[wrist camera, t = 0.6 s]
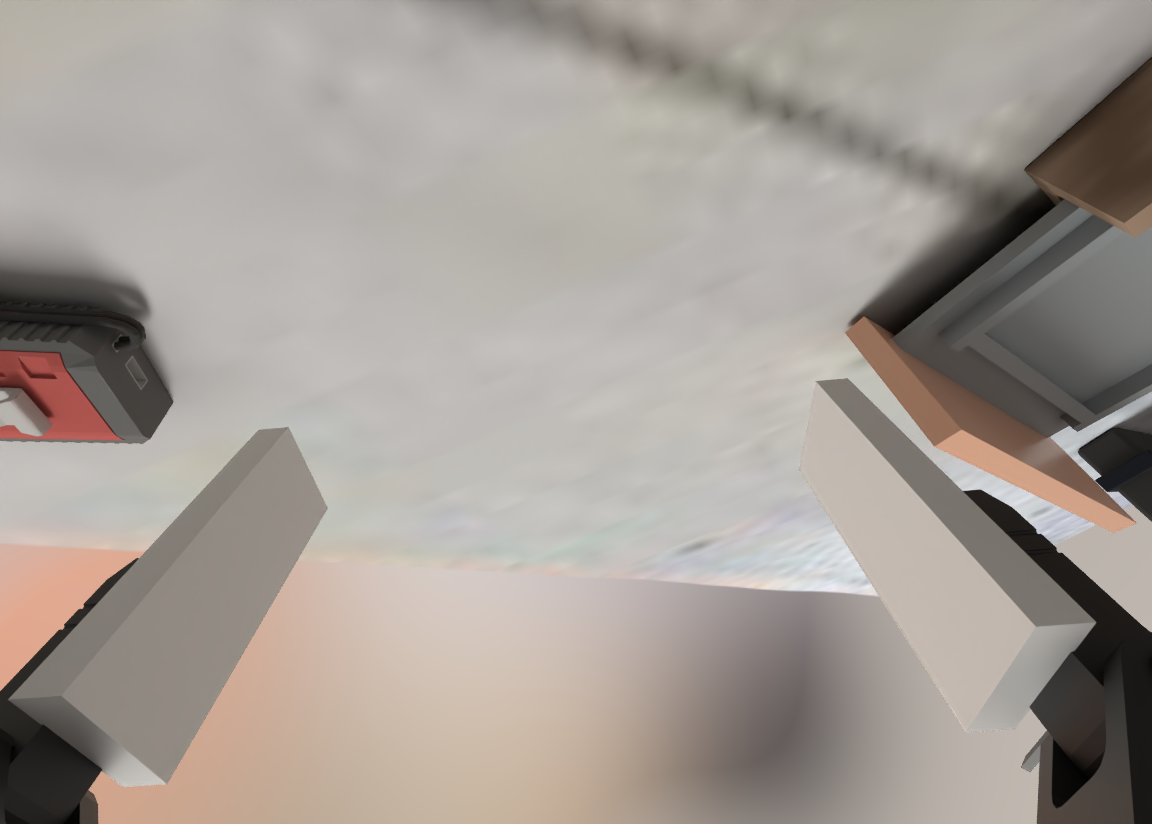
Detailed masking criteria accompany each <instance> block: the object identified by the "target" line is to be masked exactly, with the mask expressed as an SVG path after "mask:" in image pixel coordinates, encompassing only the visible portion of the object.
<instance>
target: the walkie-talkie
mask: <svg viewBox="0 0 1152 824" xmlns="http://www.w3.org/2000/svg"><path fill="white" fill-rule="evenodd" d="M145 338H146V334H145V329H144V327H143V326H142V324H141V323H139V322H138V321H136V320H134V319H133V318H131V317H129V316H125V315H121V314H117V313H114V312H109V311H107V310H105V309H103V308H101V307H99V308H98V309H94V308H90V307H89V306H84V307H83V308H78V307H75V306H74V305H69V306H68V307H62V306H60V305H58V304H54V305H53V306H46V305H45V304H42V303H39V304H38V305H31V304H30V303H26V302H24V303H23V304H15V303H14V302H10V301H8V302H7V303H0V441H12V442H13V441H22V442H27V441H34V442H40V441H46V442H76V443H80V442H88V443H93V442H98V443H128V444H132V443H140V444H143V443H144V442H146V441H148V440H149V439H151V437H152V435H153V434H154V432H155V431H156V429H157V427H158V426H159V424H160V423H161V421H162V420H163V418H164V416H165V415H166V413H167V412H168V410H169V408H170V407H171V405H172V404H173V401H172V399H171V397H170V395H169V394H168V392H167V390H166V389H165V387H164V385H163V384H162V382H161V380H160V378H159V377H158V375H157V373H156V372H155V370H154V368H153V366H152V365H151V363H150V361H149V360H148V358H147V356H146V355H145V353H144V351H143V349H142V348H141V346H140V345H141V343H142V341H143V340H144V339H145Z"/></svg>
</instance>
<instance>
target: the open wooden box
mask: <svg viewBox="0 0 1152 824" xmlns="http://www.w3.org/2000/svg"><path fill="white" fill-rule="evenodd" d="M1025 171H1026V173H1027V174H1028V175H1029V176H1030V177H1031V178H1032V179H1033V180H1034V181H1035V183H1036V184H1037V185H1038V186H1039V187H1040V188H1041V189H1042V190H1043V191H1044V193H1045V194H1046V195H1047V196H1048V197H1049V198H1050V199H1051V200H1052V201H1053V203H1054V204H1055V205H1056V206H1057V205H1058V204H1059V203H1060V202H1062V201H1063V200H1064V199H1066V200H1068V201H1069V202H1071V203H1073V204H1075V205H1077V206H1078V207H1080V208H1082V209H1084V210H1086V211H1088V212H1089V213H1091V214H1093V215H1095V216H1097V217H1099V218H1100V219H1102V220H1104V221H1106V222H1108V223H1110V224H1111V225H1113V226H1115V227H1117V228H1119V229H1121V230H1122V231H1124V232H1126V233H1128V234H1130V235H1132V236H1133V237H1135V238H1136V237H1138V236H1139V235H1140V234H1142V233H1143V232H1145V231H1146V230H1147V229H1149V228H1150V227H1152V58H1151V59H1150V60H1149V61H1148V62H1147V63H1145V64H1144V65H1143V66H1142V67H1141V68H1140V69H1139V70H1137V71H1136V72H1135V73H1134V74H1133V75H1132V76H1131V77H1129V78H1128V79H1127V80H1126V81H1125V82H1124V83H1123V84H1122V85H1120V86H1119V87H1118V88H1117V89H1116V90H1115V91H1114V92H1112V93H1111V94H1110V95H1109V96H1108V97H1107V98H1106V99H1104V100H1103V101H1102V102H1101V103H1100V104H1099V105H1098V106H1096V107H1095V108H1094V109H1093V110H1092V111H1091V112H1090V113H1088V114H1087V115H1086V116H1085V117H1084V118H1083V119H1082V120H1080V121H1079V122H1078V123H1077V124H1076V125H1075V126H1074V127H1072V128H1071V129H1070V130H1069V131H1068V132H1067V133H1066V134H1065V135H1063V136H1062V137H1061V138H1060V139H1059V140H1058V141H1057V142H1055V143H1054V144H1053V145H1052V146H1051V147H1050V148H1049V149H1047V150H1046V151H1045V152H1044V153H1043V154H1042V155H1041V156H1039V157H1038V158H1037V159H1036V160H1035V161H1034V162H1033V163H1031V164H1030V165H1029V166H1028V167H1027V168H1026V169H1025Z"/></svg>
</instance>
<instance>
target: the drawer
mask: <svg viewBox="0 0 1152 824" xmlns="http://www.w3.org/2000/svg"><path fill="white" fill-rule="evenodd" d="M845 333H846V334H847V336H848V337H849V338H850V340H851V341H852V342H853V343H854V345H855V346H856V347H857V348H858V350H859V351H860V352H861V354H862V355H863V356H864V357H865V359H866V360H867V361H868V362H869V364H870V365H871V366H872V368H873V369H874V370H875V371H876V373H877V374H878V375H879V376H880V378H881V379H882V380H883V382H884V383H885V384H886V385H887V387H888V388H889V389H890V390H891V392H892V393H893V394H894V396H895V397H896V398H897V399H898V401H899V402H900V403H901V405H902V406H903V407H904V408H905V410H906V411H907V412H908V413H909V415H910V416H911V417H912V419H913V420H914V421H915V422H916V424H917V425H918V426H919V427H920V429H921V430H922V431H923V433H924V434H925V435H926V436H927V438H928V439H929V440H930V441H931V443H932V444H933V445H934V447H936V448H939V449H941V450H943V451H945V452H947V453H949V454H951V455H953V456H955V457H957V458H959V459H961V460H964V461H966V462H968V463H970V464H972V465H974V466H976V467H978V468H980V469H982V470H984V471H986V472H988V473H991V474H993V475H995V476H997V477H999V478H1001V479H1003V480H1005V481H1007V482H1009V483H1011V484H1013V485H1015V486H1018V487H1020V488H1022V489H1024V490H1026V491H1028V492H1030V493H1032V494H1034V495H1036V496H1038V497H1040V498H1042V499H1045V500H1047V501H1049V502H1051V503H1053V504H1055V505H1057V506H1059V507H1061V508H1063V509H1065V510H1067V511H1070V512H1072V513H1074V514H1076V515H1078V516H1080V517H1082V518H1084V519H1086V520H1088V521H1090V522H1092V523H1094V524H1097V525H1099V526H1101V527H1103V528H1105V529H1107V530H1109V531H1111V532H1113V533H1115V532H1117V531H1120V530H1122V529H1124V528H1127V527H1129V526H1131V525H1134V524H1136V522H1135V521H1134V520H1133V519H1132V518H1131V517H1130V516H1129V515H1128V514H1127V513H1126V512H1125V511H1124V510H1123V509H1122V508H1121V507H1120V506H1119V505H1118V504H1117V503H1116V502H1115V501H1114V500H1113V499H1112V498H1111V497H1110V496H1109V495H1108V494H1107V493H1106V492H1105V491H1104V490H1103V489H1102V488H1101V487H1100V486H1099V485H1098V484H1097V483H1096V482H1095V481H1094V480H1093V479H1092V478H1091V477H1090V476H1089V475H1088V474H1087V473H1086V472H1085V471H1084V470H1083V469H1082V468H1081V467H1080V466H1079V465H1078V464H1077V463H1076V462H1075V461H1074V460H1073V459H1072V458H1071V457H1070V456H1069V455H1068V454H1067V453H1066V452H1065V451H1064V450H1063V449H1062V448H1061V447H1060V446H1058V445H1057V444H1056V443H1055V442H1054V441H1053V440H1052V439H1051V438H1050V436H1052V435H1053V434H1055V433H1057V432H1059V431H1061V430H1062V429H1064V428H1066V427H1068V426H1071V427H1072V428H1073V429H1074V430H1076V431H1077V432H1078V431H1080V430H1082V429H1083V428H1085V427H1087V426H1089V425H1091V424H1093V423H1094V422H1096V421H1098V420H1100V419H1102V418H1104V417H1105V416H1107V415H1109V414H1111V413H1113V412H1115V411H1116V410H1118V409H1120V408H1122V407H1124V406H1126V405H1127V404H1129V403H1131V402H1133V401H1135V400H1136V399H1138V398H1140V397H1142V396H1144V395H1146V394H1147V393H1149V392H1151V391H1152V227H1150V228H1149V229H1147V230H1146V231H1145V232H1143V233H1142V234H1140V235H1139V236H1138V237H1136V238H1135V237H1133V236H1132V235H1130V234H1128V233H1126V232H1124V231H1122V230H1121V229H1119V228H1117V227H1115V226H1113V225H1111V224H1110V223H1108V222H1106V221H1104V220H1102V219H1100V218H1099V217H1097V216H1095V215H1093V214H1091V213H1089V212H1088V211H1086V210H1084V209H1082V208H1080V207H1078V206H1077V205H1075V204H1073V203H1071V202H1069V201H1068V200H1066V199H1064V200H1063V201H1062V202H1060V203H1059V204H1058V205H1057V206H1055V207H1054V208H1053V209H1052V210H1050V211H1049V212H1048V213H1047V214H1046V215H1044V216H1043V217H1042V218H1041V219H1039V220H1038V221H1037V222H1036V223H1034V224H1033V225H1032V226H1031V227H1029V228H1028V229H1027V230H1026V231H1024V232H1023V233H1022V234H1021V235H1020V236H1018V237H1017V238H1016V239H1015V240H1013V241H1012V242H1011V243H1010V244H1008V245H1007V246H1006V247H1005V248H1003V249H1002V250H1001V251H1000V252H998V253H997V254H996V255H995V256H993V257H992V258H991V259H990V260H989V261H987V262H986V263H985V264H984V265H982V266H981V267H980V268H979V269H977V270H976V271H975V272H974V273H972V274H971V275H970V276H969V277H967V278H966V279H965V280H964V281H963V282H961V283H960V284H959V285H958V286H956V287H955V288H954V289H953V290H951V291H950V292H949V293H948V294H946V295H945V296H944V297H943V298H941V299H940V300H939V301H938V302H936V303H935V304H934V305H933V306H932V307H930V308H929V309H928V310H927V311H925V312H924V313H923V314H922V315H920V316H919V317H918V318H917V319H915V320H914V321H913V322H912V323H910V324H909V325H908V326H907V327H906V328H904V329H903V330H902V331H901V332H899V333H898V334H897V335H896V336H895V335H893V334H892V333H890V332H889V331H887V330H885V329H884V328H882V327H881V326H879V325H877V324H876V323H874V322H873V321H871V320H869V319H868V318H866V317H865V316H864V317H863V318H861V319H860V320H859V321H858V322H857V323H856V324H854V325H853V326H852V327H851V328H850V329H849V330H848V331H846V332H845Z"/></svg>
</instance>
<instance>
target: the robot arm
mask: <svg viewBox="0 0 1152 824" xmlns="http://www.w3.org/2000/svg"><path fill="white" fill-rule="evenodd" d="M799 471H800V472H801V474H802V476H803V477H804V479H805V480H806V482H807V483H808V485H809V487H810V488H811V490H812V491H813V493H814V494H815V496H816V498H817V499H818V501H819V502H820V504H821V505H822V507H823V509H824V510H825V512H826V513H827V515H828V516H829V518H830V520H831V521H832V523H833V524H834V526H835V527H836V529H837V531H838V532H839V534H840V535H841V537H842V538H843V540H844V542H845V543H846V545H847V546H848V548H849V550H850V551H851V553H852V554H853V556H854V557H855V559H856V561H857V562H858V564H859V565H860V567H861V568H862V570H863V572H864V573H865V575H866V576H867V578H868V579H869V581H870V583H871V584H872V586H873V587H874V589H875V590H876V592H877V594H878V595H879V597H880V598H881V600H882V601H883V603H884V605H885V606H886V608H887V609H888V611H889V612H890V614H891V616H892V617H893V619H894V620H895V622H896V623H897V625H898V627H899V628H900V629H901V631H902V633H903V634H904V636H905V638H906V639H907V641H908V642H909V644H910V646H911V647H912V648H913V650H914V652H915V653H916V655H917V656H918V658H919V660H920V661H921V663H922V664H923V666H924V668H925V669H926V671H927V672H928V674H929V675H930V677H931V678H932V680H933V682H934V683H935V685H936V686H937V688H938V690H939V691H940V693H941V694H942V696H943V697H944V699H945V701H946V702H947V704H948V705H949V707H950V708H951V710H952V712H953V713H954V715H955V716H956V718H957V719H958V721H959V723H960V724H961V726H962V727H963V729H964V730H965V732H979V731H995V730H1009V729H1015V728H1016V727H1017V726H1018V725H1019V723H1020V722H1021V721H1022V719H1023V718H1024V717H1025V715H1026V714H1027V713H1028V711H1029V710H1030V709H1031V710H1032V711H1033V712H1034V714H1035V715H1036V716H1037V718H1038V719H1039V720H1040V721H1041V723H1042V724H1043V725H1044V727H1045V728H1046V729H1047V731H1046V732H1045V734H1044V735H1043V736H1042V737H1041V738H1040V740H1039V741H1038V742H1037V743H1036V744H1035V746H1034V747H1033V748H1032V749H1031V750H1030V752H1029V753H1028V754H1027V755H1026V757H1025V759H1024V761H1023V764H1022V766H1021V768H1023V769H1025V770H1027V771H1029V772H1031V771H1032V769H1033V768H1034V767H1035V766H1036V765H1037V764H1038V763H1039V761H1040V766H1039V767H1040V768H1039V788H1038V810H1037V824H1152V632H1150V631H1148V630H1147V629H1146V628H1145V627H1143V626H1142V625H1141V624H1140V623H1139V622H1138V621H1137V620H1135V619H1134V618H1133V617H1132V616H1131V615H1130V614H1129V613H1128V612H1127V611H1126V610H1124V609H1123V608H1122V607H1121V606H1120V605H1119V604H1118V603H1117V602H1116V601H1115V600H1113V599H1112V598H1111V597H1110V596H1109V595H1108V594H1107V593H1106V592H1105V591H1103V590H1102V589H1101V588H1100V587H1099V586H1098V585H1097V584H1096V583H1095V582H1094V581H1093V580H1091V579H1090V578H1089V577H1088V576H1087V575H1086V574H1085V573H1084V572H1082V570H1080V569H1079V568H1078V567H1077V566H1076V565H1075V564H1074V563H1073V562H1071V560H1069V559H1068V558H1067V557H1066V556H1065V555H1064V554H1063V553H1058V552H1057V550H1056V549H1057V548H1056V547H1055V546H1054V545H1053V544H1052V543H1051V542H1050V541H1048V540H1047V539H1046V538H1045V537H1044V536H1043V535H1042V534H1037V532H1036V529H1035V528H1034V527H1033V526H1032V525H1031V524H1030V523H1029V522H1028V521H1026V520H1025V519H1024V518H1023V517H1022V516H1021V515H1020V514H1019V513H1018V512H1017V511H1015V510H1014V509H1013V508H1012V507H1010V506H1009V505H1007V504H1005V503H1003V502H1001V501H1000V500H998V499H996V498H994V497H993V496H991V495H989V494H987V493H986V492H984V491H982V490H971V491H962V490H961V489H960V488H959V487H958V486H957V485H956V484H955V483H954V482H953V481H952V480H951V479H950V478H949V477H948V476H947V475H946V474H945V473H944V472H943V471H942V470H940V469H939V468H938V467H937V466H936V465H935V464H934V463H933V462H932V461H931V460H930V459H929V458H928V457H927V456H926V455H925V454H924V453H923V452H922V451H921V450H920V449H919V448H918V447H917V446H916V445H915V444H914V443H913V442H912V441H911V440H910V439H909V438H908V437H907V436H906V435H905V434H904V433H903V432H902V431H901V430H900V429H899V428H898V427H897V426H896V425H895V424H894V423H893V422H892V421H890V420H889V419H888V418H887V417H886V416H885V415H884V414H883V413H882V412H881V411H880V410H879V409H878V408H877V407H876V406H875V405H874V404H873V403H872V402H871V401H870V400H869V399H868V398H867V397H866V396H865V395H864V394H863V393H862V392H861V391H860V390H859V389H858V388H857V387H856V386H855V385H854V384H853V383H852V382H851V381H850V380H849V379H836V380H825V381H816V383H815V388H814V393H813V398H812V403H811V409H810V414H809V419H808V424H807V429H806V435H805V440H804V445H803V450H802V455H801V461H800V466H799ZM326 510H327V506H326V504H325V502H324V500H323V498H322V495H321V493H320V491H319V489H318V487H317V485H316V483H315V481H314V479H313V477H312V475H311V473H310V471H309V469H308V467H307V464H306V462H305V460H304V458H303V456H302V454H301V452H300V450H299V448H298V446H297V444H296V442H295V440H294V438H293V435H292V433H291V431H290V429H289V427H286V428H274V429H263V430H258V431H257V432H256V433H255V435H254V436H253V437H252V438H251V439H250V440H249V441H248V442H247V443H246V444H245V445H244V446H243V447H242V448H241V450H240V451H239V452H238V453H237V454H236V455H235V456H234V457H233V458H232V459H231V460H230V461H229V462H228V464H227V465H226V466H225V467H224V468H223V469H222V470H221V471H220V472H219V473H218V474H217V475H216V476H215V478H214V479H213V480H212V481H211V482H210V483H209V484H208V485H207V486H206V487H205V488H204V489H203V490H202V492H201V493H200V494H199V495H198V496H197V497H196V498H195V499H194V500H193V501H192V502H191V503H190V504H189V505H188V507H187V508H186V509H185V510H184V511H183V512H182V513H181V514H180V515H179V516H178V517H177V518H176V519H175V521H174V522H173V523H172V524H171V525H170V526H169V527H168V528H167V529H166V530H165V531H164V532H163V533H162V535H161V536H160V537H159V538H158V539H157V540H156V541H155V542H154V543H153V544H152V545H151V546H150V547H149V549H148V550H147V551H146V552H145V553H144V554H143V555H142V556H141V557H140V558H137V559H135V560H134V561H132V562H131V563H129V564H128V565H127V566H125V567H124V568H123V569H121V570H120V571H118V572H117V573H116V574H114V575H113V576H112V577H110V578H109V579H107V580H106V581H105V583H103V584H102V585H101V586H100V588H99V589H98V590H97V591H96V592H95V593H94V594H93V595H92V596H91V597H90V598H89V599H88V600H87V601H86V602H85V603H84V608H83V609H79V610H78V611H77V612H76V613H75V614H74V615H73V616H72V617H71V618H70V619H69V620H68V621H67V622H66V623H65V624H64V626H65V627H64V629H63V630H58V631H57V633H56V634H55V635H54V636H53V637H52V638H51V639H50V640H49V641H48V642H47V643H46V644H45V645H44V646H43V647H42V648H41V649H40V650H39V651H38V652H37V653H36V655H35V656H34V657H33V658H32V659H31V660H30V661H29V662H28V663H27V664H26V665H25V666H24V667H23V668H22V669H21V670H20V671H19V672H18V673H17V674H16V675H15V676H14V677H13V679H12V680H11V681H10V682H9V683H8V684H7V685H6V686H5V687H4V688H3V689H2V690H1V691H0V824H98V804H97V801H96V798H95V796H94V794H93V793H91V792H90V791H89V790H88V789H89V788H90V787H91V785H92V783H93V782H94V781H95V779H96V778H97V776H98V775H99V774H100V772H101V771H103V772H104V773H105V774H107V775H108V776H109V777H111V778H112V779H113V780H114V781H116V782H117V783H119V784H120V785H121V786H122V787H130V786H146V785H161V784H167V783H168V781H169V780H170V778H171V776H172V775H173V773H174V771H175V770H176V768H177V766H178V764H179V763H180V761H181V759H182V758H183V756H184V754H185V752H186V751H187V749H188V747H189V746H190V744H191V742H192V740H193V738H194V737H195V735H196V733H197V732H198V730H199V728H200V726H201V725H202V723H203V721H204V720H205V718H206V716H207V715H208V712H209V711H210V709H211V708H212V706H213V704H214V702H215V701H216V699H217V697H218V696H219V694H220V692H221V691H222V689H223V687H224V685H225V684H226V682H227V680H228V679H229V677H230V675H231V673H232V672H233V670H234V668H235V666H236V665H237V663H238V661H239V660H240V658H241V656H242V654H243V653H244V651H245V649H246V648H247V646H248V644H249V642H250V641H251V638H252V637H253V636H254V634H255V632H256V630H257V629H258V627H259V625H260V624H261V622H262V620H263V618H264V617H265V615H266V613H267V611H268V610H269V608H270V606H271V605H272V603H273V601H274V599H275V597H276V596H277V594H278V593H279V591H280V589H281V587H282V586H283V584H284V582H285V581H286V579H287V577H288V575H289V573H290V572H291V570H292V568H293V567H294V565H295V563H296V562H297V560H298V558H299V557H300V555H301V553H302V551H303V550H304V548H305V546H306V544H307V543H308V541H309V539H310V538H311V536H312V534H313V532H314V531H315V529H316V527H317V526H318V524H319V522H320V520H321V519H322V517H323V515H324V514H325V512H326Z"/></svg>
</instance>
